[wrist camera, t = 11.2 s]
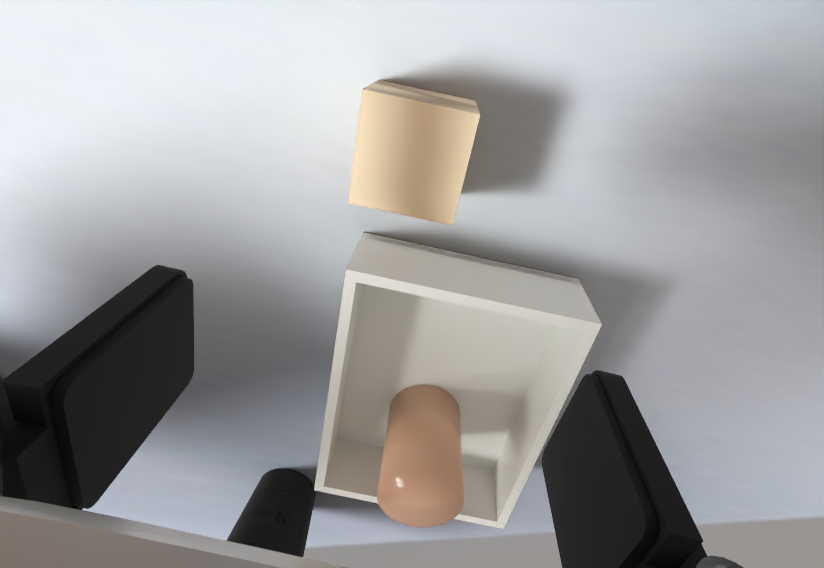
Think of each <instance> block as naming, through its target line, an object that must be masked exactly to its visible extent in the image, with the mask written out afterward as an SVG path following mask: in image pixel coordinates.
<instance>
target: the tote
mask: <svg viewBox="0 0 824 568" xmlns="http://www.w3.org/2000/svg"><path fill="white" fill-rule="evenodd" d="M601 326H602V323H601V321H600V319H599V317H598V315H597V314H596V312H595V310H594V308H593V306H592V304H591V302H590V300H589V298H588V296H587V294H586V292H585V290H584V288H583V287H582V285H581V283H580V281H579V279H577V278H572V277H568V276H563V275H559V274H554V273H549V272H545V271H540V270H536V269H531V268H526V267H522V266H517V265H512V264H508V263H503V262H499V261H494V260H489V259H485V258H480V257H476V256H471V255H466V254H462V253H457V252H453V251H448V250H443V249H439V248H434V247H430V246H425V245H420V244H416V243H411V242H407V241H402V240H397V239H393V238H388V237H384V236H379V235H374V234H370V233H365V232H363V234H362V236H361V238H360V241H359V243H358V245H357V247H356V249H355V251H354V253H353V255H352V257H351V260H350V262H349V264H348V266H347V268H346V272H345V279H344V286H343V293H342V300H341V307H340V314H339V321H338V328H337V335H336V341H335V348H334V355H333V362H332V369H331V376H330V383H329V390H328V397H327V404H326V411H325V418H324V425H323V432H322V439H321V445H320V452H319V459H318V466H317V473H316V480H315V487H314V490H315V491H320V492H325V493H330V494H335V495H340V496H344V497H349V498H354V499H359V500H364V501H369V502H374V503H378V501H377V492H378V485H379V478H380V471H381V464H382V457H383V450H384V443H385V436H386V429H387V422H388V415H389V408H390V404H391V401H392V399H393V398H394V396H395V395H396V394H397V393H399V392H400V391H402V390H403V389H405V388H408V387H411V386H415V385H432V386H436V387H439V388H441V389H444V390H445V391H447V392H449V393H450V394H451V395H452V396H453V397H454V398H455V399H456V401H457V403H458V405H459V409H460V424H461V445H462V466H463V487H464V505H463V508H462V510H461V512H460V513H459V514H458V515H457V516H456V517H455V518H454V519H457V520H462V521H467V522H472V523H477V524H482V525H487V526H492V527H496V528H501V529H503V528H504V526H505V524H506V522H507V520H508V518H509V516H510V514H511V512H512V510H513V508H514V506H515V504H516V501H517V499H518V497H519V495H520V493H521V491H522V489H523V487H524V485H525V483H526V481H527V479H528V477H529V475H530V473H531V470H532V468H533V466H534V464H535V462H536V460H537V458H538V456H539V454H540V452H541V450H542V448H543V446H544V444H545V442H546V440H547V437H548V435H549V433H550V431H551V429H552V427H553V425H554V423H555V421H556V419H557V417H558V415H559V413H560V411H561V409H562V406H563V404H564V402H565V400H566V398H567V396H568V394H569V392H570V390H571V388H572V386H573V384H574V382H575V380H576V378H577V375H578V373H579V371H580V369H581V367H582V365H583V363H584V361H585V359H586V357H587V355H588V353H589V351H590V349H591V347H592V345H593V342H594V340H595V338H596V336H597V334H598V332H599V330H600V328H601Z"/></svg>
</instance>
